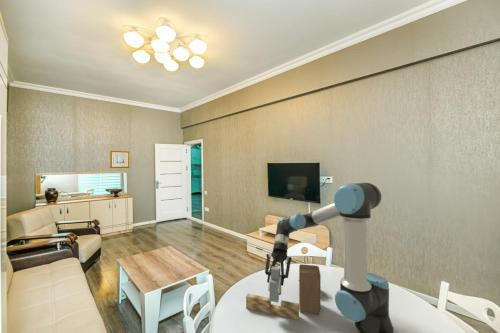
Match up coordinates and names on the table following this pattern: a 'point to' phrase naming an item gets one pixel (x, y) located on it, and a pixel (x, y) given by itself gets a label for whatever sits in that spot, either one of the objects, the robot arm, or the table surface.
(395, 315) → the table surface
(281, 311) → the oak slotted plate
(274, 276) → the grey stepped block
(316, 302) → the wooden block
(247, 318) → the table surface
